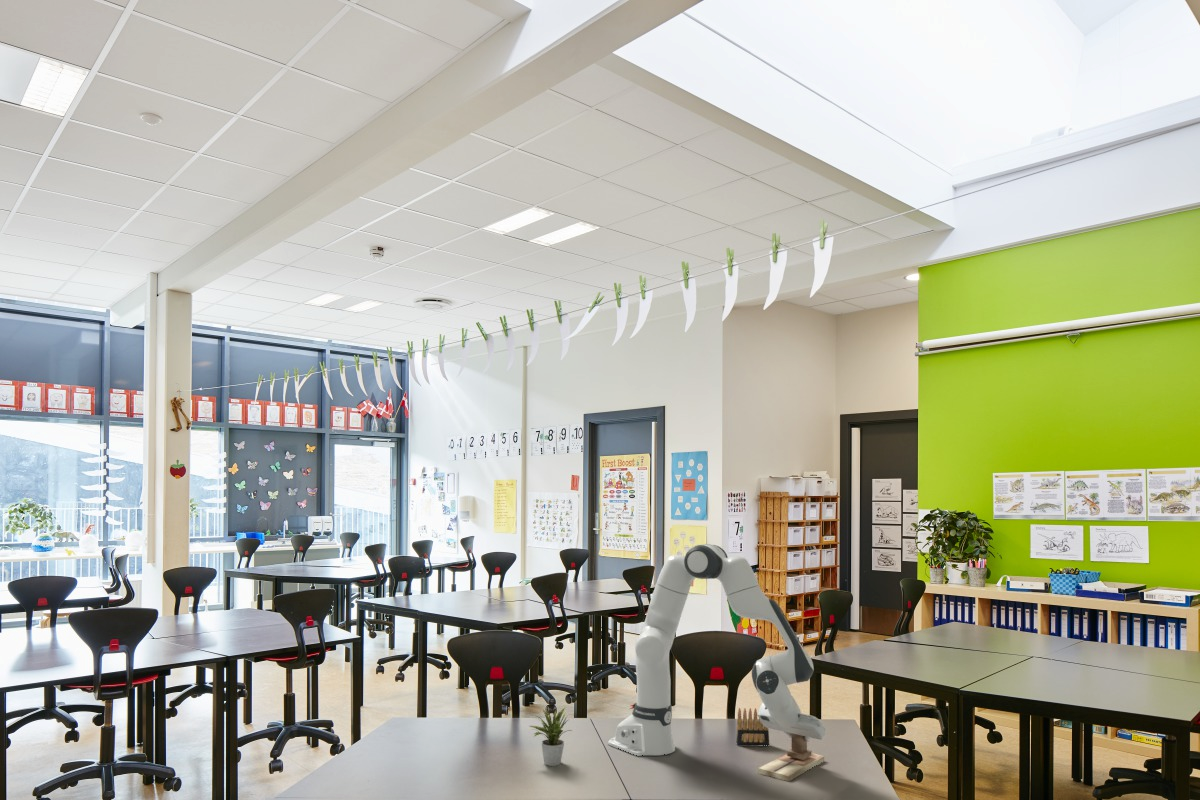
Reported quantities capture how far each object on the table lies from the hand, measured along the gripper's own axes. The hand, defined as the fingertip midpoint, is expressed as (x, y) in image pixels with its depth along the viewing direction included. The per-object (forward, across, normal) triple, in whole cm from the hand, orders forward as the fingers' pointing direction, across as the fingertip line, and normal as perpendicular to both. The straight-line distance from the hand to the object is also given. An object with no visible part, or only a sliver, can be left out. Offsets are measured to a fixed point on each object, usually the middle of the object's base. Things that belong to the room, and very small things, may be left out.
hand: (800, 737), depth 264 cm
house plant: (-31, +58, +42) cm, 78 cm away
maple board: (+1, 0, +9) cm, 9 cm away
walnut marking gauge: (+3, 0, +4) cm, 5 cm away
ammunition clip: (+9, +20, +2) cm, 22 cm away
